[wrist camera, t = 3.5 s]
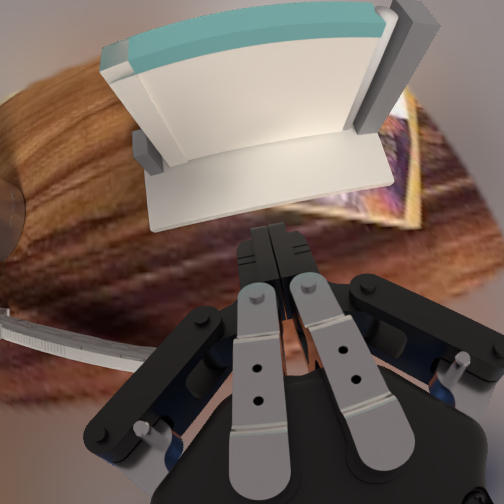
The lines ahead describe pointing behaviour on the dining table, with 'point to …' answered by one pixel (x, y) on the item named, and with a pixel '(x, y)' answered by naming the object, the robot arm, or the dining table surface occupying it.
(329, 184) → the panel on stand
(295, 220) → the dining table surface
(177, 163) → the gate panel
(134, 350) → the grey flat strip
